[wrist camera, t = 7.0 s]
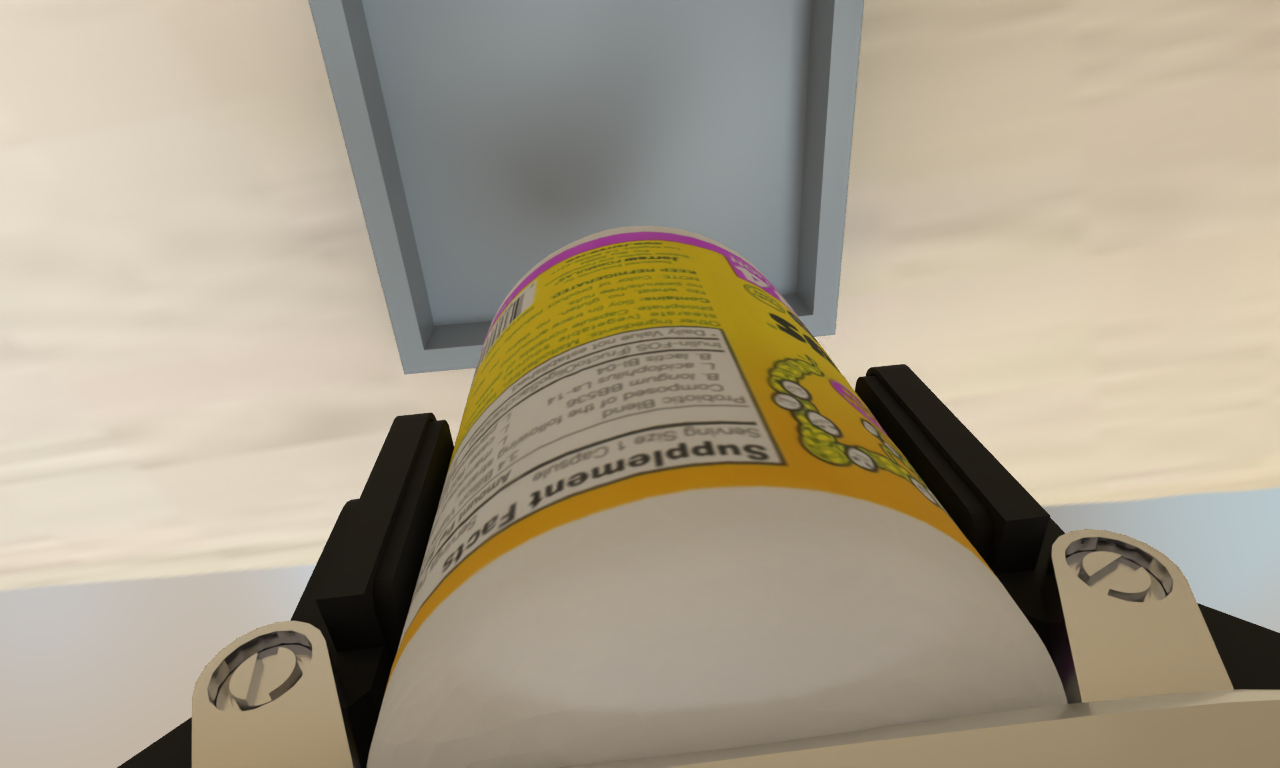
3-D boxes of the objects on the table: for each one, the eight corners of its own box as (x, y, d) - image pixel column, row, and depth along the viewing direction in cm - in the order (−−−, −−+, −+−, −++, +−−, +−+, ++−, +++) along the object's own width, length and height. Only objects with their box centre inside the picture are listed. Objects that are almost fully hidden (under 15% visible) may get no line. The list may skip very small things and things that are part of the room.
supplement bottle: (809, 450, 16) (1356, 1453, 5) (542, 520, 16) (477, 1617, 5) (763, 170, 13) (2052, 1223, 2) (431, 265, 13) (-370, 1685, 2)
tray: (842, -119, 24) (875, -136, 21) (813, 307, 31) (834, 334, 29) (316, -88, 23) (282, -101, 20) (418, 343, 31) (404, 374, 28)
